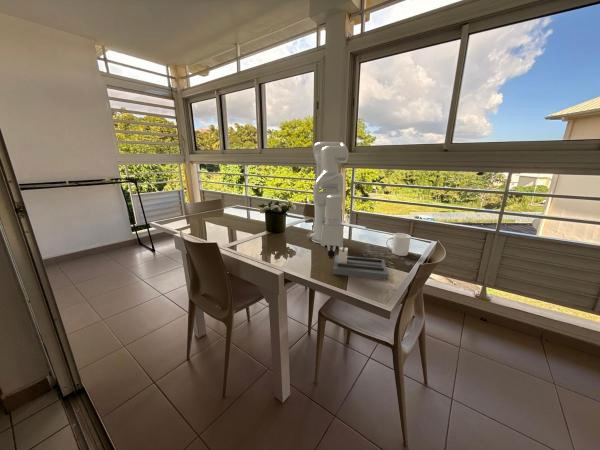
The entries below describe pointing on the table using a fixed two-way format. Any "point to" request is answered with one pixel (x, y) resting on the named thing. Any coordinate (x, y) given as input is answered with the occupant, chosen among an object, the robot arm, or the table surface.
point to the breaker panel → (361, 267)
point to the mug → (400, 244)
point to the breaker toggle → (343, 255)
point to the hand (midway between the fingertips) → (331, 257)
